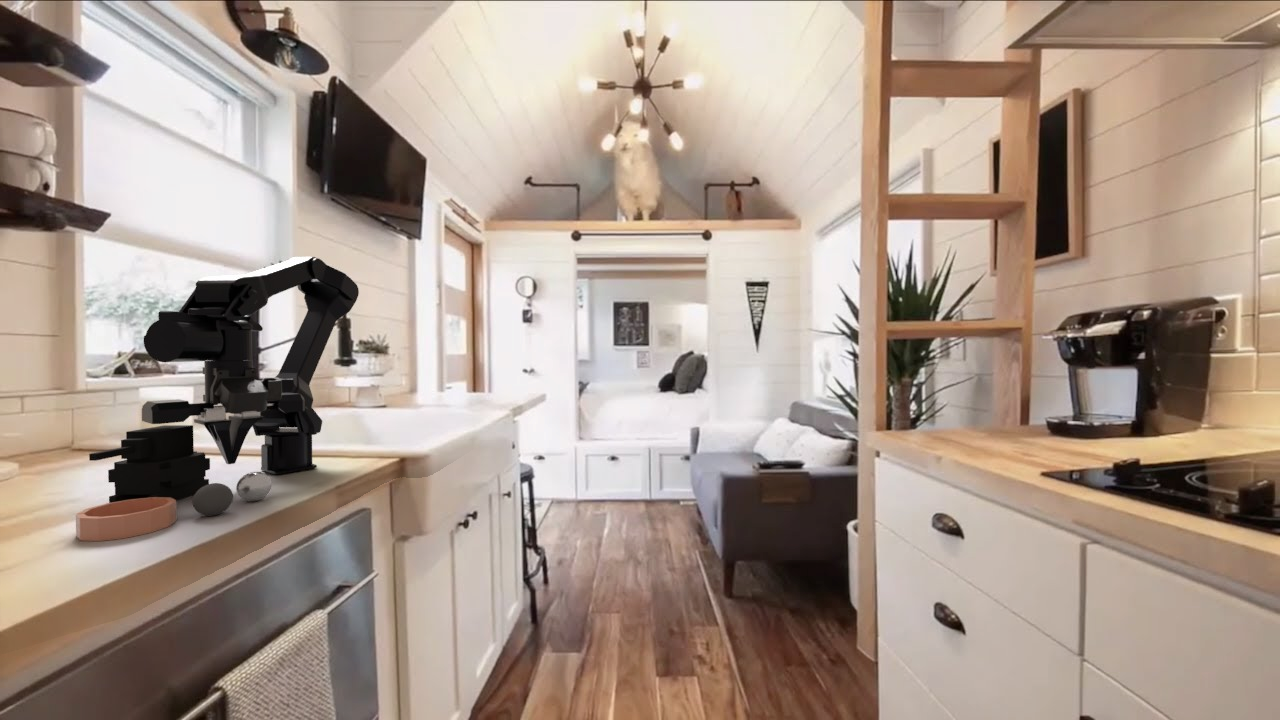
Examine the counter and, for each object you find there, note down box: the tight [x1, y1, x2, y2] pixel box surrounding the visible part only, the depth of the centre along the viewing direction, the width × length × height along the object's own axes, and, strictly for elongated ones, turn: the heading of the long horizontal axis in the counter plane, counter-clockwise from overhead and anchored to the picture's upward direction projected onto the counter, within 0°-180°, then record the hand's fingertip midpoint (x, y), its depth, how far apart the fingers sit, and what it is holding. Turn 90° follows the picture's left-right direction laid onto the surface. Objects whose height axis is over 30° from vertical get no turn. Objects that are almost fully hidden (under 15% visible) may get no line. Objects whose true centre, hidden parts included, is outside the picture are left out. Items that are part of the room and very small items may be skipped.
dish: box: [75, 497, 178, 542], centre depth 62 cm, size 8×8×2 cm
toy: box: [88, 424, 211, 503], centre depth 72 cm, size 8×14×10 cm, turn 2°
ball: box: [192, 482, 234, 517], centre depth 67 cm, size 4×4×4 cm
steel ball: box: [235, 471, 273, 502], centre depth 73 cm, size 4×4×4 cm
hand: (230, 463), depth 80 cm, fingers closed
